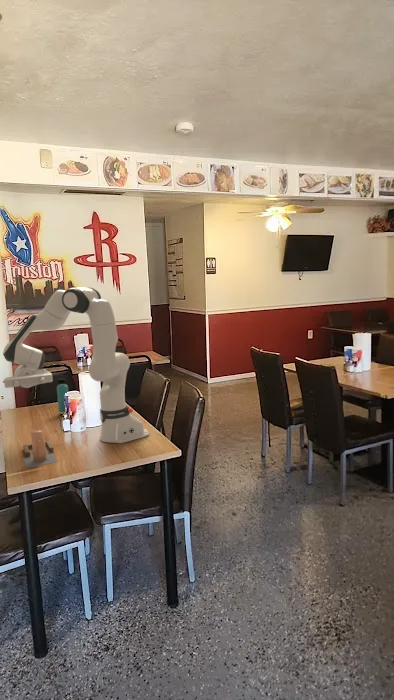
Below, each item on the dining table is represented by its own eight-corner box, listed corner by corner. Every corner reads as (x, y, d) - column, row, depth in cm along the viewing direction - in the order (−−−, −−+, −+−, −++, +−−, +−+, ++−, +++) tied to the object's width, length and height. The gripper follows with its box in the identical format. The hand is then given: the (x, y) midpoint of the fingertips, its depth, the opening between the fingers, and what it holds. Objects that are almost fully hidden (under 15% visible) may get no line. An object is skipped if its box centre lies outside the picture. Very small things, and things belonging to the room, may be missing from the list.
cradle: (49, 445, 208) (49, 440, 207) (53, 453, 198) (53, 447, 198) (23, 450, 203) (23, 445, 203) (26, 458, 193) (26, 452, 193)
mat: (52, 453, 197) (52, 452, 197) (57, 462, 187) (57, 461, 187) (23, 459, 192) (22, 458, 192) (26, 469, 181) (26, 467, 181)
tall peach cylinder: (45, 456, 193) (42, 428, 191) (48, 462, 186) (45, 433, 184) (32, 459, 191) (30, 430, 189) (35, 465, 183) (32, 436, 182)
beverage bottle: (67, 415, 257) (64, 380, 254) (56, 415, 258) (53, 380, 255) (73, 412, 263) (69, 377, 260) (62, 412, 265) (59, 377, 262)
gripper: (1, 374, 207) (3, 378, 195) (48, 368, 216) (53, 372, 204) (3, 387, 208) (5, 393, 196) (50, 381, 217) (55, 386, 205)
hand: (30, 382), depth 200 cm, fingers open, 8 cm apart
